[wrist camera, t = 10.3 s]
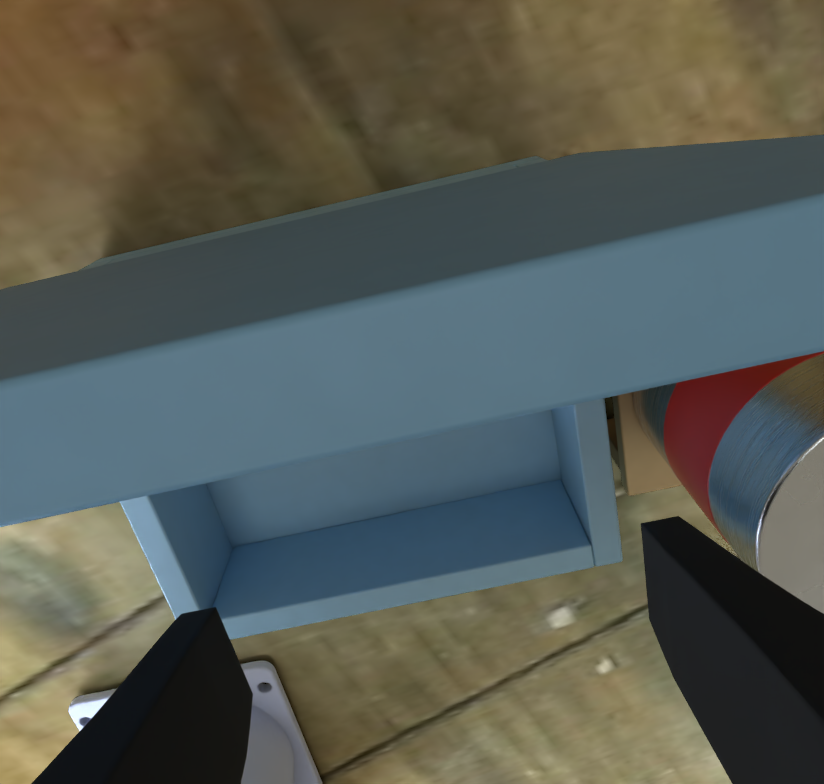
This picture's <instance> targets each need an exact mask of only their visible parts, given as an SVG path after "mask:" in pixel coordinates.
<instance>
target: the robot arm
mask: <svg viewBox="0 0 824 784" xmlns="http://www.w3.org/2000/svg"><path fill="white" fill-rule="evenodd" d="M641 530H642V541H643V553H644V564H645V575H646V587H647V598H648V609H649V619H650V622H651V624H652V627H653V629H654V632H655V634H656V637H657V639H658V642H659V644H660V647H661V649H662V651H663V654H664V656H665V659H666V661H667V663H668V666H669V668H670V670H671V673H672V675H673V677H674V679H675V681H676V683H677V685H678V687H679V688H680V690H681V692H682V694H683V696H684V697H685V699H686V701H687V703H688V705H689V707H690V708H691V710H692V712H693V714H694V716H695V717H696V719H697V721H698V723H699V725H700V726H701V728H702V730H703V732H704V734H705V735H706V737H707V739H708V741H709V742H710V744H711V746H712V748H713V750H714V751H715V753H716V755H717V757H718V759H719V760H720V762H721V764H722V766H723V768H724V769H725V771H726V773H727V775H728V776H729V778H730V780H731V782H732V784H824V614H823V613H821V612H820V611H818V610H816V609H815V608H813V607H811V606H810V605H808V604H807V603H805V602H803V601H802V600H800V599H799V598H797V597H796V596H794V595H792V594H791V593H789V592H788V591H786V590H785V589H783V588H782V587H780V586H779V585H777V584H776V583H774V582H773V581H771V580H769V579H768V578H766V577H765V576H763V575H762V574H760V573H759V572H757V571H756V570H754V569H753V568H752V567H750V566H749V565H747V564H746V563H744V562H743V561H741V560H740V559H739V558H737V557H736V556H734V555H733V554H731V553H730V552H728V551H727V550H726V549H724V548H723V547H721V546H720V545H719V544H717V543H716V542H714V541H713V540H712V539H710V538H709V537H707V536H706V535H705V534H703V533H702V532H700V531H699V530H698V529H696V528H695V527H693V526H692V525H690V524H689V523H688V522H686V521H685V520H683V519H682V518H680V517H679V516H677V517H672V518H667V519H661V520H656V521H651V522H646V523H641ZM262 682H266V683H269V684H263V683H262ZM68 711H69V714H70V716H71V718H72V719H73V721H74V722H75V724H76V726H77V727H78V729H79V731H80V732H79V733H78V734H77V735H76V736H75V737H74V738H73V739H72V740H71V741H70V743H69V744H68V745H67V746H66V747H65V748H64V749H63V750H62V751H61V752H60V753H59V755H58V756H57V757H56V758H55V759H54V760H53V761H52V762H51V763H50V764H49V765H48V767H47V768H46V769H45V770H44V771H43V772H42V773H41V774H40V775H39V776H38V777H37V778H36V779H35V780H34V782H33V783H32V784H323V783H322V780H321V778H320V776H319V773H318V771H317V768H316V766H315V764H314V761H313V759H312V756H311V754H310V752H309V749H308V747H307V744H306V742H305V739H304V737H303V735H302V732H301V730H300V727H299V725H298V723H297V720H296V718H295V715H294V713H293V710H292V708H291V706H290V703H289V701H288V698H287V696H286V694H285V691H284V689H283V686H282V684H281V681H280V679H279V677H278V674H277V672H276V669H275V667H274V666H273V665H272V664H271V663H269V662H267V661H254V662H249V663H244V664H240V662H239V660H238V658H237V655H236V653H235V651H234V648H233V646H232V644H231V641H230V639H229V637H228V634H227V632H226V630H225V627H224V625H223V622H222V620H221V618H220V615H219V613H218V611H217V608H216V607H213V608H208V609H203V610H198V611H193V612H188V613H182V614H181V615H180V616H179V617H178V618H177V619H176V620H175V621H174V622H173V623H172V625H171V626H170V627H169V628H168V629H167V630H166V631H165V633H164V634H163V635H162V636H161V637H160V638H159V640H158V641H157V642H156V643H155V644H154V645H153V647H152V648H151V649H150V650H149V651H148V653H147V654H146V655H145V656H144V657H143V659H142V660H141V661H140V662H139V663H138V665H137V666H136V667H135V668H134V669H133V671H132V672H131V673H130V674H129V675H128V676H127V678H126V679H125V680H124V681H123V682H122V683H121V685H120V686H119V687H118V688H117V689H112V690H107V691H101V692H96V693H91V694H86V695H81V696H78V697H75V698H74V699H73V700H72V702H71V704H70V706H69V709H68Z"/></svg>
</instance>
